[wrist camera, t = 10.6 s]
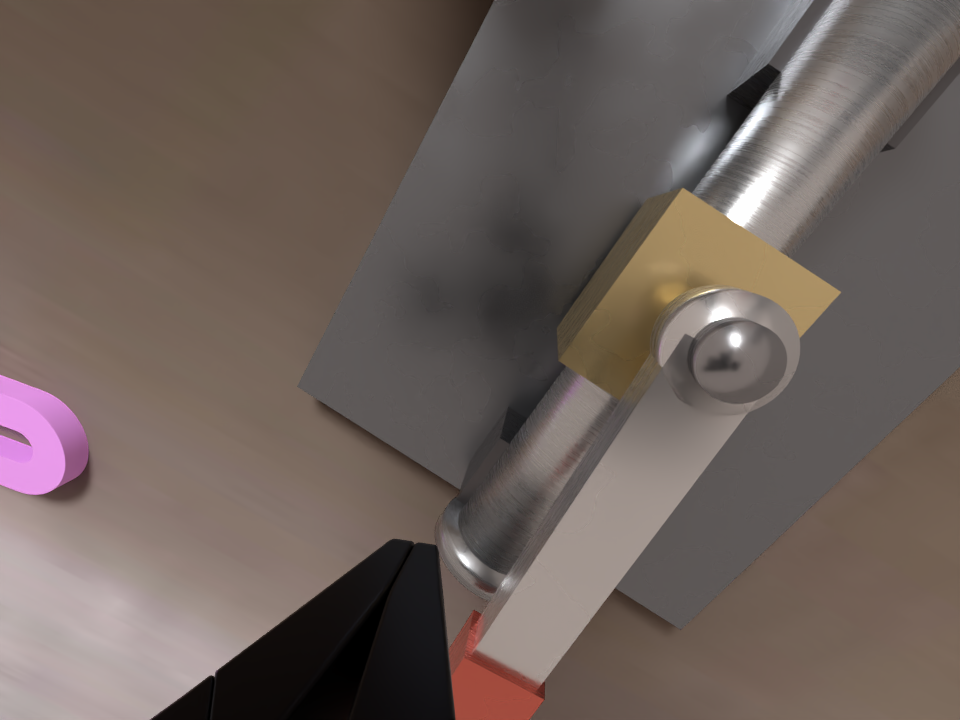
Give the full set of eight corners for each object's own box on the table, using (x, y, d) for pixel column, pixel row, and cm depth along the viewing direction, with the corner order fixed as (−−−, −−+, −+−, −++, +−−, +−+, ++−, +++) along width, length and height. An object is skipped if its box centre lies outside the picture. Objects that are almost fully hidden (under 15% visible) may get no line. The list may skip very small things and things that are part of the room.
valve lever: (689, 263, 10) (720, 271, 8) (793, 316, 10) (848, 336, 8) (406, 711, 15) (385, 779, 13) (475, 747, 15) (464, 821, 13)
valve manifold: (597, -169, 15) (646, -601, 7) (1108, 177, 15) (1676, 124, 7) (314, 375, 21) (182, 456, 14) (672, 603, 22) (736, 803, 14)
